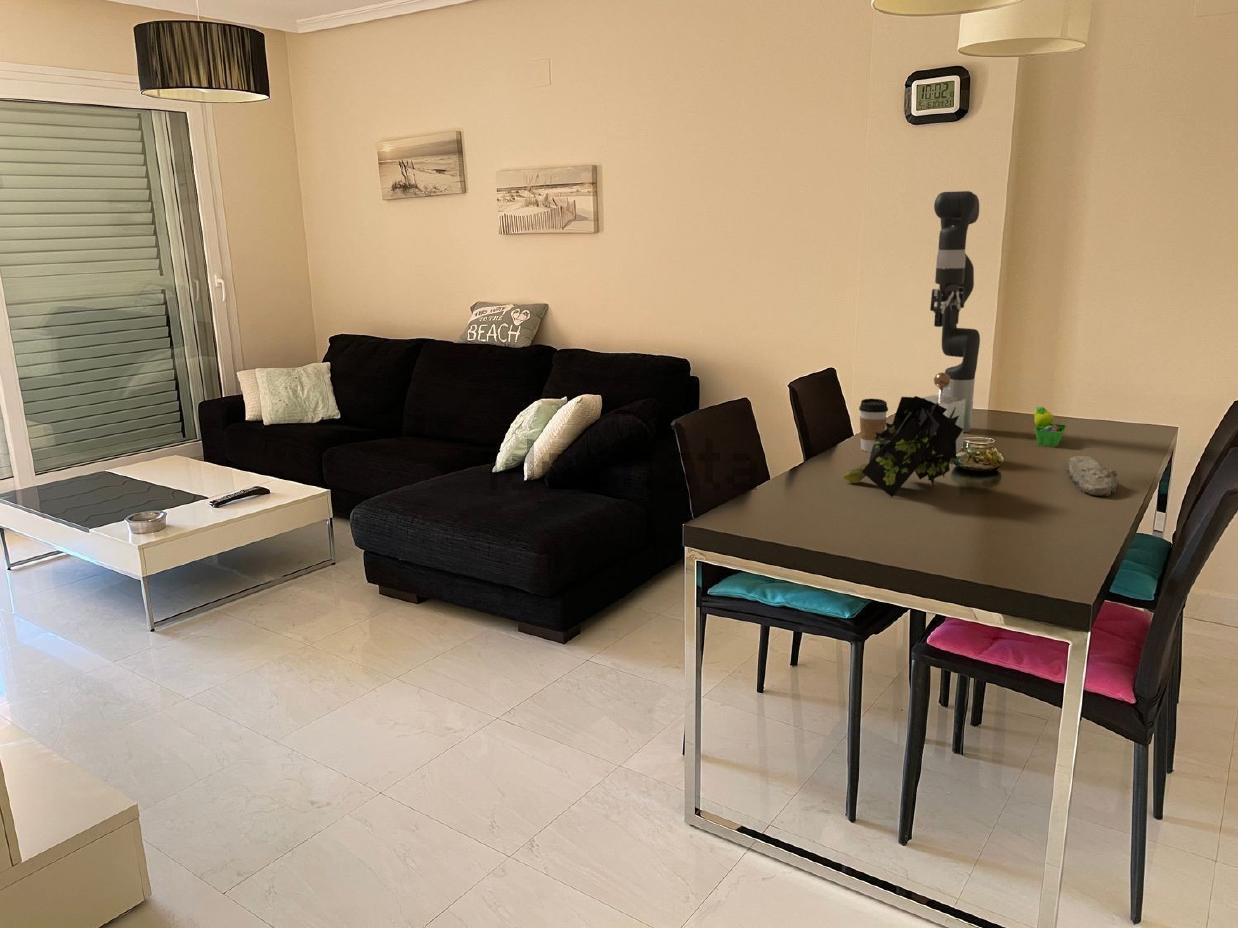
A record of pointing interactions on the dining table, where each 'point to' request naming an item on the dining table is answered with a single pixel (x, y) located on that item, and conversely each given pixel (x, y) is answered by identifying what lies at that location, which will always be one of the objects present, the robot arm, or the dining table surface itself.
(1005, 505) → the dining table surface
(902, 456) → the black leafy clump
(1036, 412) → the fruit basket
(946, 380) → the plunger
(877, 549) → the dining table surface
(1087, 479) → the elongated rock
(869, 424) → the coffee cup
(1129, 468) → the dining table surface
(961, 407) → the press
